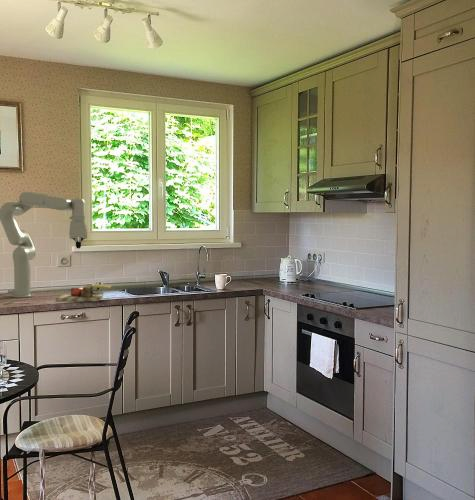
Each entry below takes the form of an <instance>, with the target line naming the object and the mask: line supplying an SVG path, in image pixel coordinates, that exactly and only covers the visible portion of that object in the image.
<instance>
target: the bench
mask: <svg viewBox="0 0 475 500" xmlns="http://www.w3.org/2000/svg"><path fill="white" fill-rule="evenodd" d="M92 285H93V284H91V285H89V284H86V286H83V287H82V288H83V290H81V296H71V294H60V295H59V296H57V297H56V302H100V301H101V300H103V297H104V294H103V295H94V294H91V290H94V288H95V287H91V286H92ZM100 299H101V300H100Z"/></svg>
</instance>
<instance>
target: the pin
mask: <svg viewBox="0 0 475 500" xmlns="http://www.w3.org/2000/svg"><path fill="white" fill-rule="evenodd" d="M81 290H83V287H71V290H70V295H71V296H81ZM104 293H105V292H104V289H101V290H91V294H97V295H103V296H104Z"/></svg>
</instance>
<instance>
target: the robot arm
mask: <svg viewBox="0 0 475 500" xmlns="http://www.w3.org/2000/svg"><path fill="white" fill-rule="evenodd" d="M18 199H19V200H18V201H15V202H14V201H7V202H5V203H3V204H2V205H1V206H0V223H1V225H2V228H3V229H4V233H5V235H6V238H7V240H8V242H9V244H10V245H12V246H17V247H16V248H15V249H14V250H13V251H12V260H13V261H12V262H13V275H14V276H13V278H14V279H13V281H14V284H13V285H14V286H13V287H14V288H13V289H8V290H7V294H11V297H12V298H31V297H33V296H34V293H31V265H30V261H32V260H33V259H34V258H36V255H37V251H36V248H35V246H34V243H33V241H32V239H31V238H32V237H31V235H30V234H29V233H28V232H27V231H25V230H22V229H20V227H19V225H18V222H17V221H16V219H15V218H14V216H15V217H16V216H21V215H24V214H25V213H27V212H28V211H29V210H31V209H32V208H34V207H35V208H42V209H52V210H57V211H67V212H68V211H71V216H70V217H69V220H71V221H70V223H69V231H68V232H69V233H68V235H69V239H70V240H73V241H74V242H75V248H76V249H81V247H82V242H83V241H84V240H87V239H88V229H87V222H86V220H85V218H86V217H85V216H86V215H85V211H86V210H85V208H86V207H85V206H86V204H85V200H84V199H83V198H65V197H58V196H56V197H55V196H51V195H48V194H45V193H38V192H32V191H22V192H21V193H20V194H19V197H18Z"/></svg>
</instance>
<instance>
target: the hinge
mask: <svg viewBox="0 0 475 500" xmlns="http://www.w3.org/2000/svg"><path fill="white" fill-rule="evenodd" d="M95 284H103V285H104V283H103V282H102V281H101V282H100V281H99V280H97V281H96V283H95ZM94 290H102V288H96V287H94ZM94 295H97V294H94Z"/></svg>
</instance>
